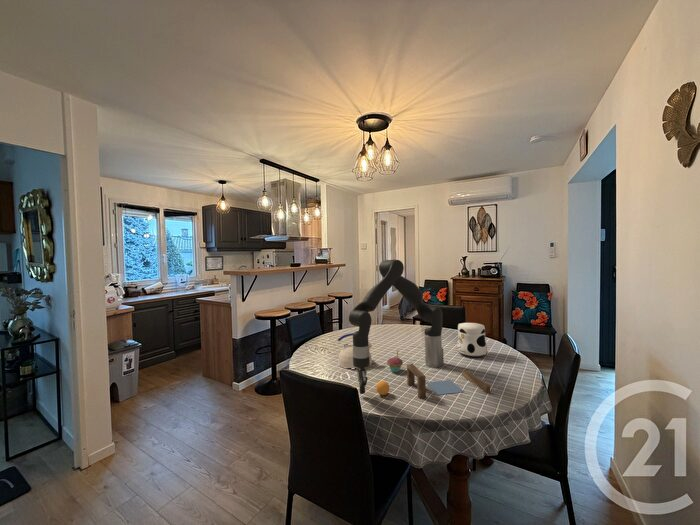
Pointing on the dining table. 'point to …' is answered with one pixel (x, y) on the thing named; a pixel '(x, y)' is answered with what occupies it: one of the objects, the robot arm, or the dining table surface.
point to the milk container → (471, 339)
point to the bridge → (421, 379)
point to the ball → (382, 387)
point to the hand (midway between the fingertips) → (362, 393)
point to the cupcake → (395, 363)
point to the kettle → (348, 354)
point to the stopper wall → (476, 381)
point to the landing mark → (444, 387)
